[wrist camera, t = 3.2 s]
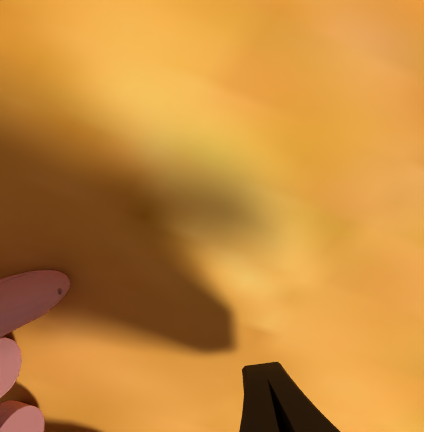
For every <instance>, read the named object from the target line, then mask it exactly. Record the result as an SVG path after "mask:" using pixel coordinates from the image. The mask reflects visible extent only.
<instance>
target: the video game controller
mask: <svg viewBox="0 0 424 432" xmlns="http://www.w3.org/2000/svg"><path fill="white" fill-rule="evenodd" d="M69 287H70V281H69V278H68V277H67V276H66V275H65V274H64V273H61V272H59V271H55V270H38V271H30V272H25V273H21V274H16V275H12V276H9V277H5V278H2V279H0V398H1V397H2V396H3V395H4V394H5V393H6V392H8V391H9V389H10V388H11V387H12V386H13V384H14V383H15V381H16V379H17V377H18V375H19V371H20V367H21V352H20V349H19V346H18V345H17V343H16V342H15V341H13V340H12V339H9V338H6V337H4V335H6V334H8V333H10V332H12V331H14V330H16V329H17V328H19V327H21V326H23V325H25V324H27V323H29V322H31V321H33V320H35V319H36V318H38V317H40V316H42V315H44V314H46V313H47V312H48V311H49V310H50V309H51V308H53V307H54V306H55V305H56V304H57V303H58V302H59V301H60V300H61V299H62V298H63V297H64V296H65V295H66V293H67V291H68V289H69ZM43 431H44V417H43V414H42V412H41V411H40V410H39V409H38V408H37V407H35V406H32V405H28V404H25V403H22V402H18V401H14V400H9V401H5V402H2V403H0V432H43Z"/></svg>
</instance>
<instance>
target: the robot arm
mask: <svg viewBox="0 0 424 432" xmlns="http://www.w3.org/2000/svg"><path fill="white" fill-rule="evenodd" d="M242 374H243V387H244V402H243V412H242V419H241V425H240V431H239V432H340V431H339V430H338V429H337V428H336V427H335V426H334V425H333V424H332V423H331V422H330V421H329V420H328V419H327V418H326V417H325V416H324V415H323V414H322V413H321V412H320V411H319V410H318V409H317V408H316V407H315V406H314V405H313V404H312V402H311V401H310V400H309V399H308V398H307V397H306V396H305V395H304V393H303V392H302V391H301V390H300V389H299V388H298V386H297V385H296V384H295V383H294V381H293V380H292V379H291V378H290V376H289V375H288V374H287V372H286V371H285V370H284V368H283V367H282V365H281V364H280V363H279V362H272V363H264V364H257V365H249V366H245V367H244V368H243V369H242Z"/></svg>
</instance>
